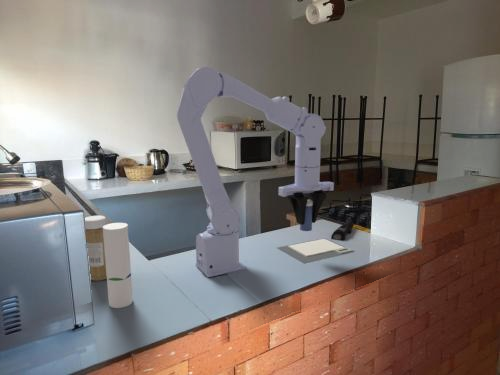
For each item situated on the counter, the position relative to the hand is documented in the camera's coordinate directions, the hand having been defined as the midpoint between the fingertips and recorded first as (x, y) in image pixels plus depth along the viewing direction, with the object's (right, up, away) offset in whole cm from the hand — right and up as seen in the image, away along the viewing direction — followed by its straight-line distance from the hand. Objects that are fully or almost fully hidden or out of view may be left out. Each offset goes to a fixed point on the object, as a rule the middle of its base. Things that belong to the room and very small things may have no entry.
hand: (306, 222), depth 92 cm
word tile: (+10, -8, +6) cm, 14 cm away
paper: (+4, -8, +9) cm, 12 cm away
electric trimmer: (+14, -6, +21) cm, 26 cm away
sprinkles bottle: (-46, -11, -8) cm, 48 cm away
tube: (-38, -14, -19) cm, 44 cm away
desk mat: (+3, -8, +7) cm, 11 cm away
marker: (0, -2, 0) cm, 2 cm away
